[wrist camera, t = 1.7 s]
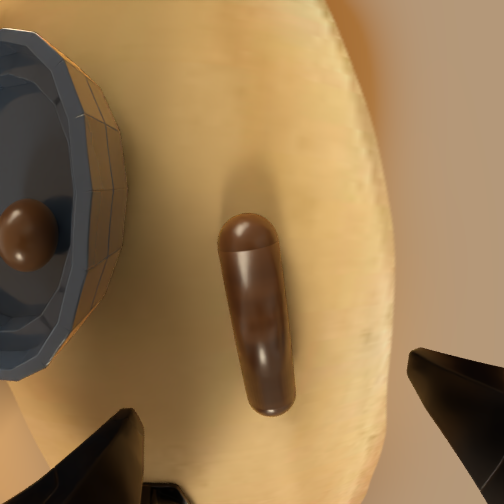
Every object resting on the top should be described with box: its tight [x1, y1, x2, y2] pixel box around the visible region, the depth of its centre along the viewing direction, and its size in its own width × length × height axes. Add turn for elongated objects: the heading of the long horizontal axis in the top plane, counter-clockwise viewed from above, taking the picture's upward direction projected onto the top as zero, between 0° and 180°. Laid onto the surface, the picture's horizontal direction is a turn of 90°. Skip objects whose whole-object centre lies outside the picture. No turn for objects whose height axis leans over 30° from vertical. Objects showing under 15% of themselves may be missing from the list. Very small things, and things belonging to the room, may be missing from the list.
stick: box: [217, 213, 296, 417], centre depth 13 cm, size 10×2×2 cm, turn 8°
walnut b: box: [0, 199, 59, 272], centre depth 9 cm, size 3×3×3 cm
